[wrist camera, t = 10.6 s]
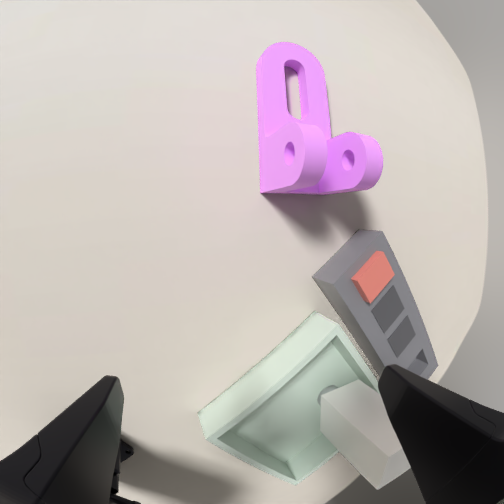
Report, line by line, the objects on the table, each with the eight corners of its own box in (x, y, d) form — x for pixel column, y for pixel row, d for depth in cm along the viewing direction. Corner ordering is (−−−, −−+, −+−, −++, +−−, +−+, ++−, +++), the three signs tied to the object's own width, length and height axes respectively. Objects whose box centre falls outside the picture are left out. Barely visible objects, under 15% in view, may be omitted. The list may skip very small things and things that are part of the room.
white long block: (310, 419, 24) (377, 490, 13) (309, 384, 23) (388, 456, 13) (344, 404, 25) (415, 464, 14) (346, 370, 24) (429, 427, 14)
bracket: (324, 194, 22) (384, 187, 16) (259, 193, 20) (306, 181, 14) (313, 57, 21) (358, 20, 14) (254, 45, 19) (289, -4, 12)
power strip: (421, 357, 29) (442, 367, 25) (390, 394, 28) (411, 407, 24) (358, 229, 23) (389, 231, 20) (312, 276, 22) (339, 286, 19)
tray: (282, 465, 24) (295, 485, 21) (197, 412, 20) (205, 439, 17) (370, 386, 26) (390, 401, 23) (314, 310, 23) (338, 324, 19)
